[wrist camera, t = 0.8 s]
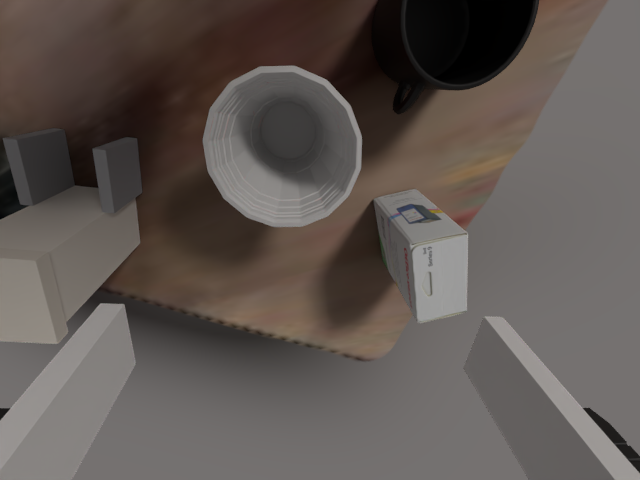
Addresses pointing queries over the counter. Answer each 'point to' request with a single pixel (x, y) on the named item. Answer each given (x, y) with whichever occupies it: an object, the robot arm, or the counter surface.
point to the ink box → (423, 254)
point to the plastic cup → (282, 146)
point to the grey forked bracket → (62, 232)
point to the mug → (447, 42)
